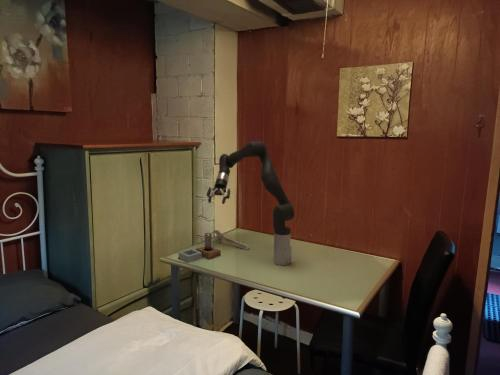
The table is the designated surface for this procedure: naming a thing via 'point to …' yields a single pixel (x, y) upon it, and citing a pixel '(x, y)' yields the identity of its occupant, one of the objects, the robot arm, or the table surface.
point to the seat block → (190, 255)
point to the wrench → (229, 240)
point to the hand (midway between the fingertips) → (216, 202)
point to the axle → (208, 241)
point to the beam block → (209, 252)
